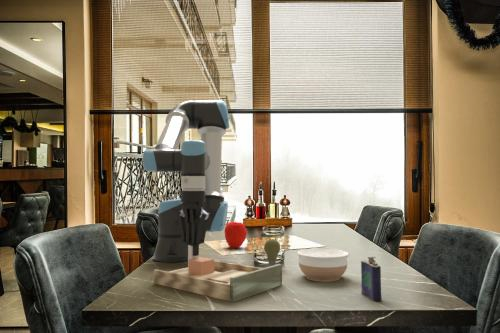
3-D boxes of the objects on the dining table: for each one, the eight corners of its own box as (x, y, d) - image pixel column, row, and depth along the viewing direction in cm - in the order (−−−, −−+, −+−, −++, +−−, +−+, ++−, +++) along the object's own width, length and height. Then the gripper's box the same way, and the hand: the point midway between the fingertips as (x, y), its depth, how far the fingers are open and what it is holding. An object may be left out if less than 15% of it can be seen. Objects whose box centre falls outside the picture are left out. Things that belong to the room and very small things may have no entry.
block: (188, 272, 131) (188, 259, 131) (201, 269, 135) (201, 257, 135) (201, 275, 128) (201, 262, 128) (214, 272, 132) (214, 259, 132)
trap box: (153, 283, 128) (153, 263, 128) (205, 270, 146) (205, 252, 146) (233, 302, 109) (233, 278, 109) (281, 284, 126) (281, 264, 126)
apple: (250, 247, 195) (250, 220, 195) (238, 250, 186) (238, 222, 187) (232, 245, 200) (232, 219, 200) (220, 248, 192) (220, 220, 192)
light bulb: (282, 266, 152) (281, 238, 152) (277, 269, 147) (277, 240, 147) (266, 265, 154) (266, 237, 154) (262, 268, 149) (262, 239, 149)
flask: (359, 292, 118) (359, 253, 118) (369, 292, 118) (369, 253, 119) (373, 302, 109) (373, 259, 109) (384, 302, 109) (384, 259, 109)
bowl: (317, 286, 125) (317, 258, 125) (287, 275, 139) (287, 250, 140) (359, 280, 133) (359, 254, 133) (327, 270, 147) (327, 246, 147)
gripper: (170, 189, 135) (169, 265, 135) (199, 190, 127) (198, 270, 126) (187, 189, 141) (187, 261, 140) (216, 190, 133) (216, 266, 132)
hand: (192, 266), depth 133 cm, fingers closed
